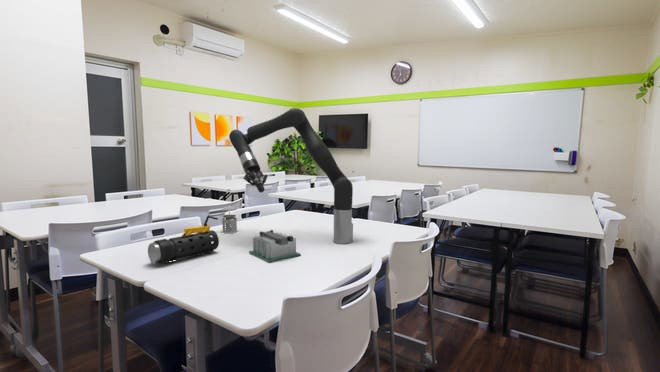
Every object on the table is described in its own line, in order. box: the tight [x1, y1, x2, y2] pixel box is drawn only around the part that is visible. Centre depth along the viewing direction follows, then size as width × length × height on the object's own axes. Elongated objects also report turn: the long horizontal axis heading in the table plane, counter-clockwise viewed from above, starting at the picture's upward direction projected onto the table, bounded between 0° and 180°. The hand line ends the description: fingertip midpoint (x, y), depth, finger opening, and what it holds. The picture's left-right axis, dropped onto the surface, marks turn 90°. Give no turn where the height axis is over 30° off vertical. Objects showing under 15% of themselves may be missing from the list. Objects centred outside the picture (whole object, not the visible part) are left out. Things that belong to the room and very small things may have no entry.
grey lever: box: [262, 230, 288, 246], centre depth 159 cm, size 4×16×3 cm, turn 40°
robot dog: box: [181, 215, 219, 236], centre depth 179 cm, size 6×18×13 cm, turn 127°
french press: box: [219, 188, 239, 235], centre depth 201 cm, size 10×12×25 cm
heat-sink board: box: [248, 229, 302, 264], centre depth 159 cm, size 16×18×10 cm
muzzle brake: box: [147, 229, 220, 265], centre depth 153 cm, size 10×28×10 cm, turn 141°
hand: (262, 191), depth 166 cm, fingers closed
